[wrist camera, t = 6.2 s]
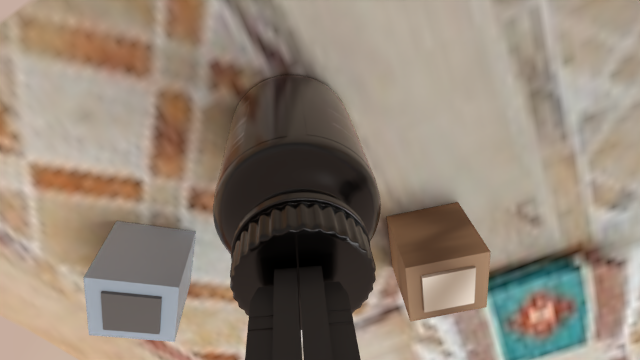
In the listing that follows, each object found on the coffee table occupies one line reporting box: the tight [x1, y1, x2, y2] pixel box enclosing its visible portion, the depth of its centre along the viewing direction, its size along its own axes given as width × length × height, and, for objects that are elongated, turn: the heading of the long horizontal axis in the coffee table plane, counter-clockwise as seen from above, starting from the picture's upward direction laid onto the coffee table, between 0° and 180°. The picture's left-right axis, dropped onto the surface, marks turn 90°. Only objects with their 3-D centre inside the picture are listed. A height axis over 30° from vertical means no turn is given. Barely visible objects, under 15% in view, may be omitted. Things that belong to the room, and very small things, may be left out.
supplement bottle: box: [213, 75, 381, 330], centre depth 17 cm, size 7×7×12 cm
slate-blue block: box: [84, 221, 196, 342], centre depth 25 cm, size 5×5×5 cm
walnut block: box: [386, 202, 490, 321], centre depth 26 cm, size 5×5×5 cm
